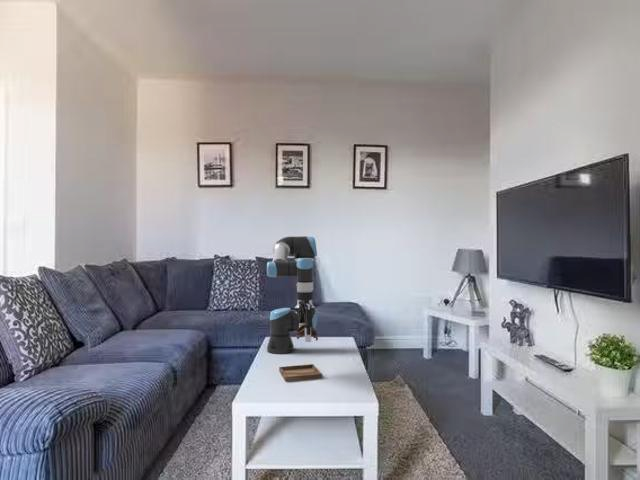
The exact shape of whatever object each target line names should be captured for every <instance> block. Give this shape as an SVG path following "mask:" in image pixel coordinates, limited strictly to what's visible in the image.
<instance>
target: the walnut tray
mask: <svg viewBox="0 0 640 480" xmlns="http://www.w3.org/2000/svg"><path fill="white" fill-rule="evenodd" d="M278 372H279V373H280V375H281V377H282V378H283V380H284V382H285V383H288V382H299V381H308V380H309V381H310V380H319V379H323V374H322V372H321V371H320V370H319V369H318V368H317V367H316V365H315V364H313V363H311V364H299V365H287V366H279V367H278Z"/></svg>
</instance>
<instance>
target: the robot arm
mask: <svg viewBox="0 0 640 480" xmlns="http://www.w3.org/2000/svg"><path fill="white" fill-rule="evenodd" d="M272 253H273V257H272V261H268V262H267V264H266V276H267V277H269V278H296V284H295V287H296V291H297V292H296V301H297V303H296V306H294V310H292V309H291V308H290V307H281V308H276V309H273V310H272V311H270V313H269V321H270V322H269V323H270V325H269V339H268V342H267V346H266V352H267V353H269V354H276V355H277V354H278V355H281V354H289V353H292V352H294V351H295V345H294V342H293V339H292V332H293V333H296V331H297V329H298V328H299V327H301V326H302V325H304V324H305V325H306V326H304V329H305V336H302V337H301V338H304V342H305V343H311V342H312V336H311V327H313V328H314V329H315V330H316V328H317V322H318V313H319V311H318V310H316V307H315V306H314V304H313V299H314V292H313V291H314V261H315V258H317V256H318V249H317V244H316V239H315V238H314V236H308V235H307V236H286V237H282V238H280V239H279V240H277V241H276V242H275V243H274V245H273V247H272ZM289 257H292V258H294V261H288V258H289ZM304 329H303V330H304ZM301 331H302V330H301ZM297 332H298V331H297Z"/></svg>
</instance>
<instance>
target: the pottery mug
mask: <svg viewBox="0 0 640 480" xmlns="http://www.w3.org/2000/svg"><path fill="white" fill-rule="evenodd" d="M304 326H306V325H305V324H304V325H302V326H301V327H299V328H298V329H297V331H298V332H297V331H296V332H295V334H296V339H297V340H299V339H300V338H303V337H302V336H305V329H304ZM303 329H304V330H303ZM301 330H302V331H301ZM312 336H313V339H315V341H316V342H317V341H318V340H319V337H318V333H317V330H316V329H314V328H313V327H311V337H312Z"/></svg>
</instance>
